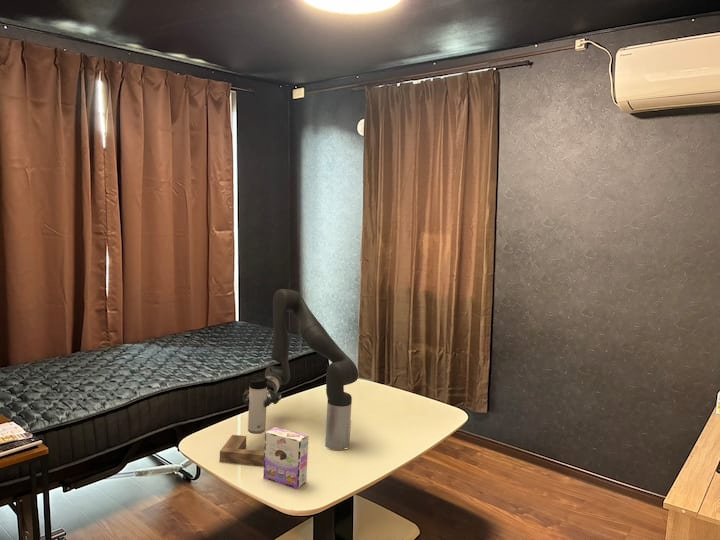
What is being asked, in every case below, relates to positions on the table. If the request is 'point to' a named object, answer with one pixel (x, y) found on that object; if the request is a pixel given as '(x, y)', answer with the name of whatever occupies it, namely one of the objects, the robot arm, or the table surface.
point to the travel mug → (257, 405)
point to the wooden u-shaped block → (240, 452)
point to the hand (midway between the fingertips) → (256, 403)
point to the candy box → (285, 457)
